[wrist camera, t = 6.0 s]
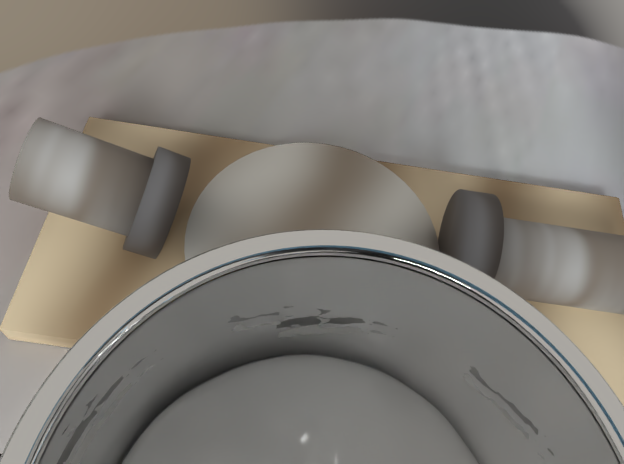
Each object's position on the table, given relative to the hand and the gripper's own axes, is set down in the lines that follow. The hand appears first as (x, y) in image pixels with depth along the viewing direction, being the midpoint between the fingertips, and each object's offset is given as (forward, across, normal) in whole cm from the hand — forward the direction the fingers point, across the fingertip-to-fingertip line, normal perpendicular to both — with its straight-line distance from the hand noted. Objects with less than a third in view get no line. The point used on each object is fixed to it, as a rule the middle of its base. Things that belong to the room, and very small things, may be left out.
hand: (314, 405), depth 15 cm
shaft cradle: (+10, 0, +1) cm, 10 cm away
